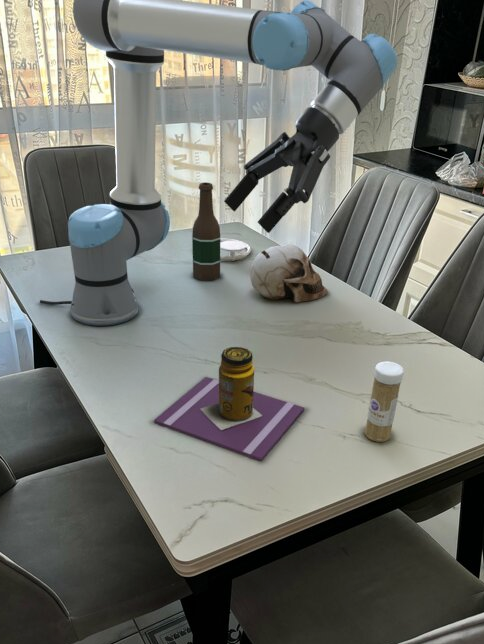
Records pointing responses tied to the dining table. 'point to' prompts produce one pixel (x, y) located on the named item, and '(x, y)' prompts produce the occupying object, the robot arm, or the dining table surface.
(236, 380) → the condiment
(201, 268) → the beer bottle
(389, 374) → the sprinkles bottle
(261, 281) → the coin bank
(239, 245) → the white rounded slab
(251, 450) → the towel
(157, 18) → the robot arm
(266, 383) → the dining table surface
